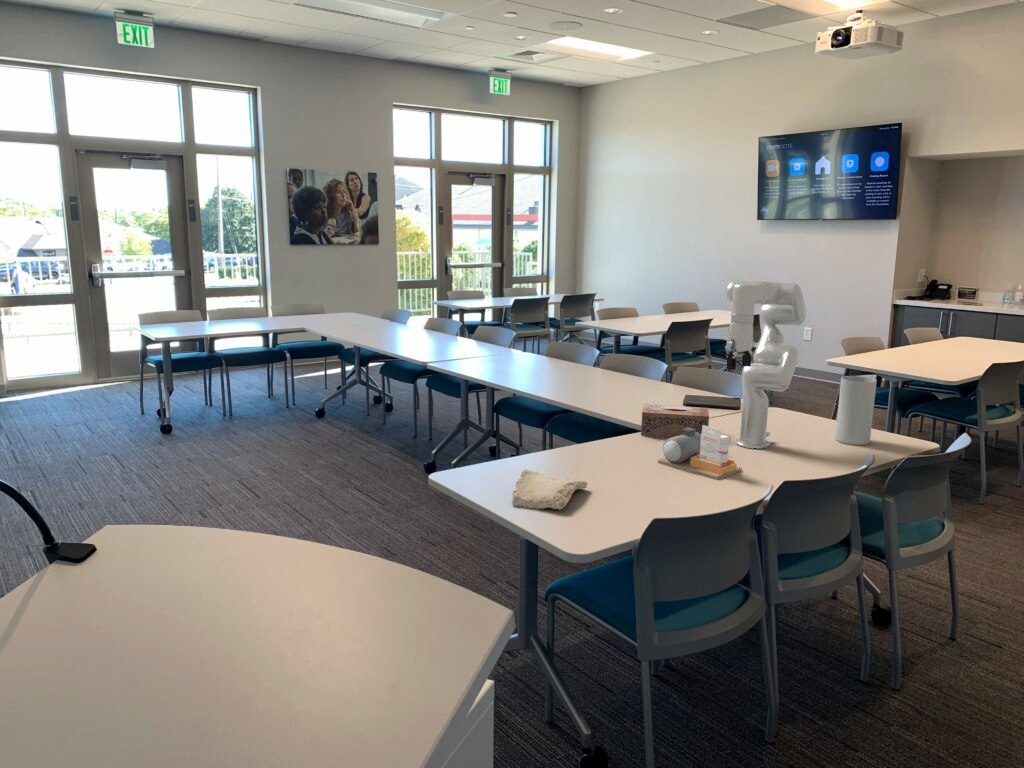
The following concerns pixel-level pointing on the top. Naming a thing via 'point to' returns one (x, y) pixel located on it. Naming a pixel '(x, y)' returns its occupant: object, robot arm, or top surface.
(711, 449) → the ink cartridge box
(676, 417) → the tissue box cover
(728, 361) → the robot arm
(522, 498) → the beige pottery fragment
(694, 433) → the motor mount
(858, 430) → the cylinder vase
